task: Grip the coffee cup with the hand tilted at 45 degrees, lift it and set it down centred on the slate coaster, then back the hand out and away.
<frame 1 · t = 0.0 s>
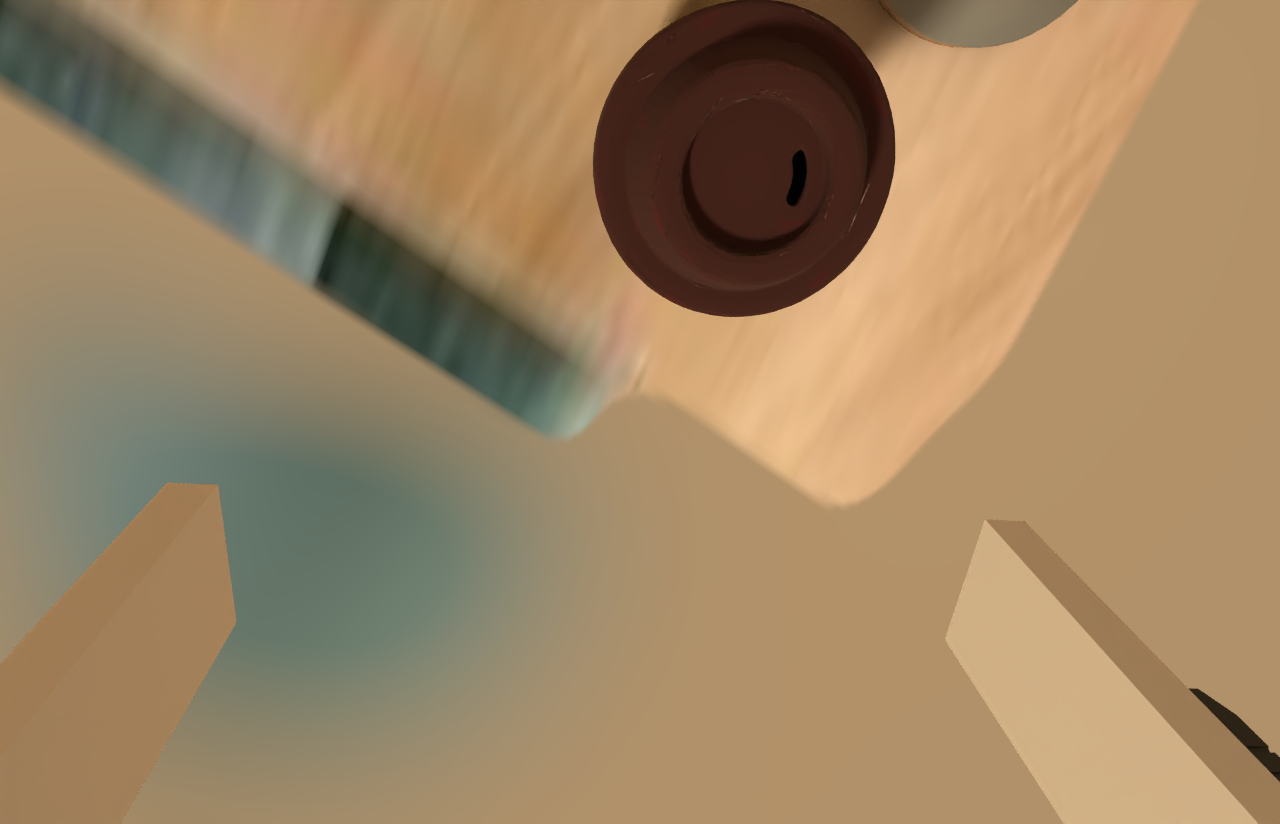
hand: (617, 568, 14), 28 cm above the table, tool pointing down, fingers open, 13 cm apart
coffee cup: (687, 132, 38), on the table
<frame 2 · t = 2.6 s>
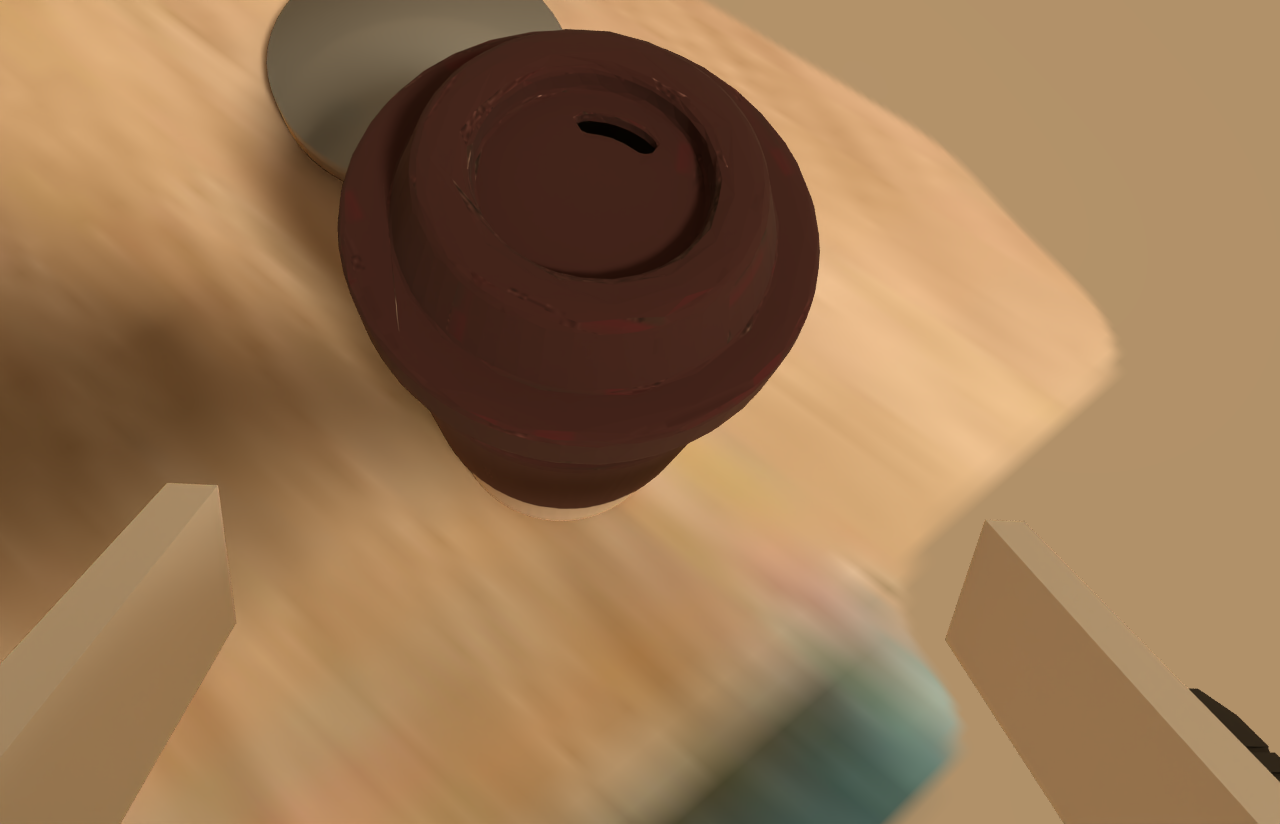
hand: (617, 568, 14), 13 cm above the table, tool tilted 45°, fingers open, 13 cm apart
coffee cup: (560, 427, 29), on the table
slate coaster: (427, 80, 33), on the table
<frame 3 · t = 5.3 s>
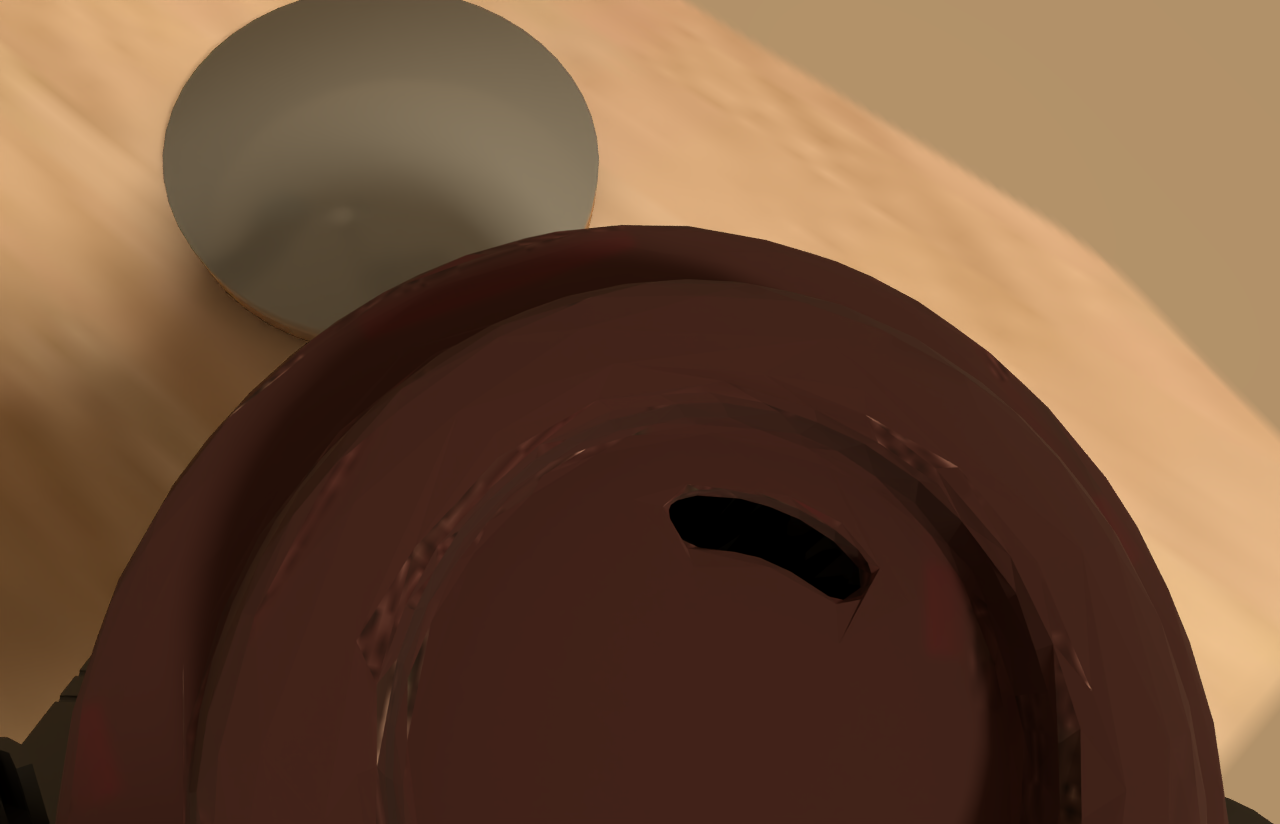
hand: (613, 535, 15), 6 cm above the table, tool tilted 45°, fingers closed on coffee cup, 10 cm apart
coffee cup: (584, 708, 19), on the table, touching gripper
slate coaster: (396, 172, 24), on the table
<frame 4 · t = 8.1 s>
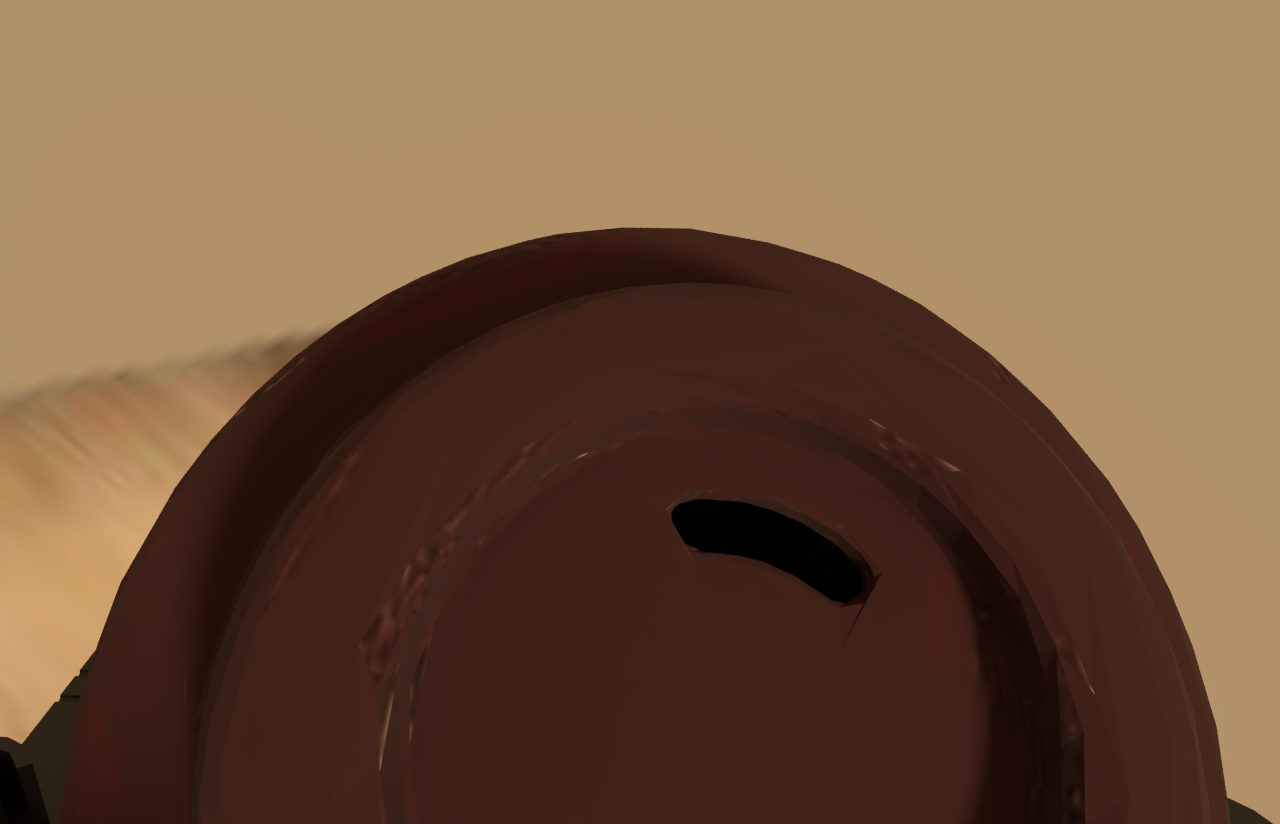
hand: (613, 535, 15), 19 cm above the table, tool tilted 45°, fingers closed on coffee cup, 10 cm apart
coffee cup: (585, 709, 19), point 13 cm above the table, touching gripper
when the fingers open (9 cm above the table, at t = 11.4 s): coffee cup drops 1 cm, resting on slate coaster.
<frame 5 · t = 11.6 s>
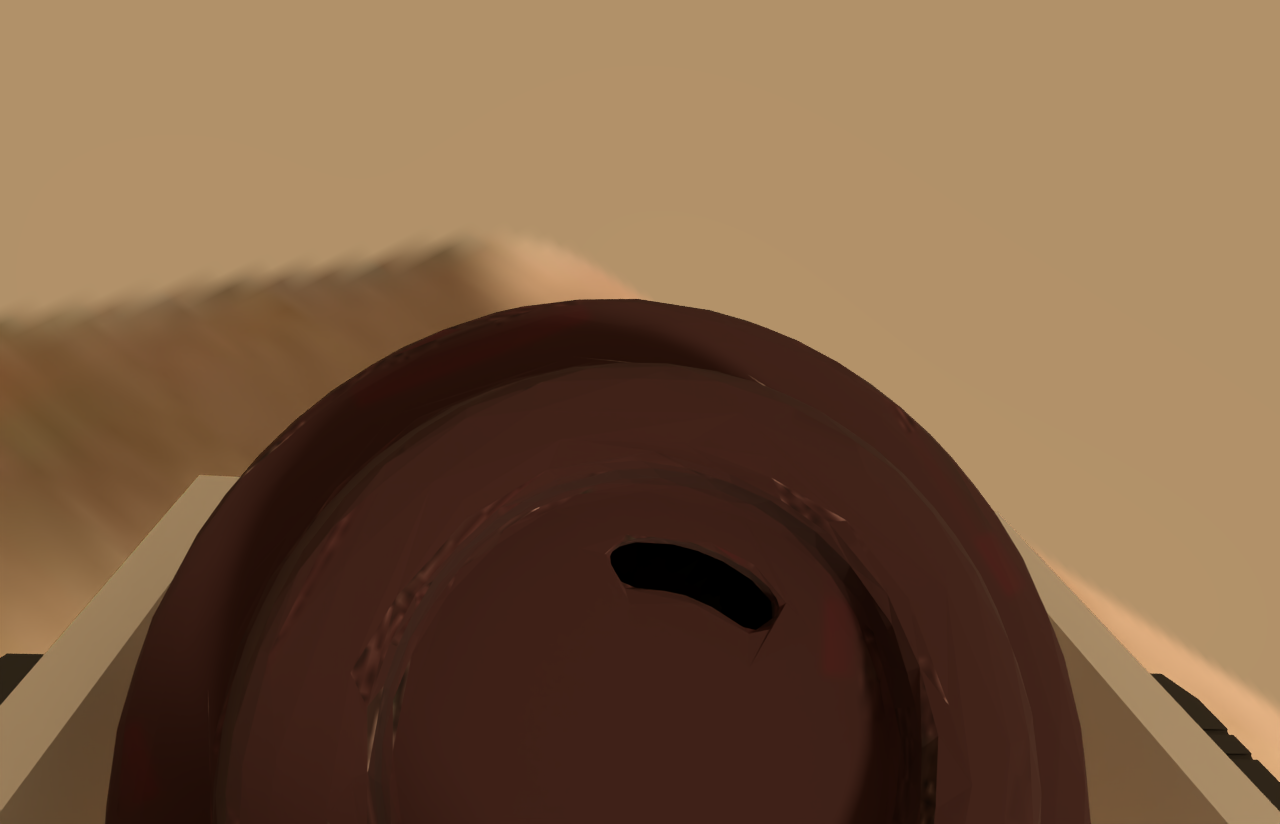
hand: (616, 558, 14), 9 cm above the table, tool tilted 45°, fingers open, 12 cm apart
coffee cup: (569, 712, 21), point 1 cm above the table, touching slate coaster
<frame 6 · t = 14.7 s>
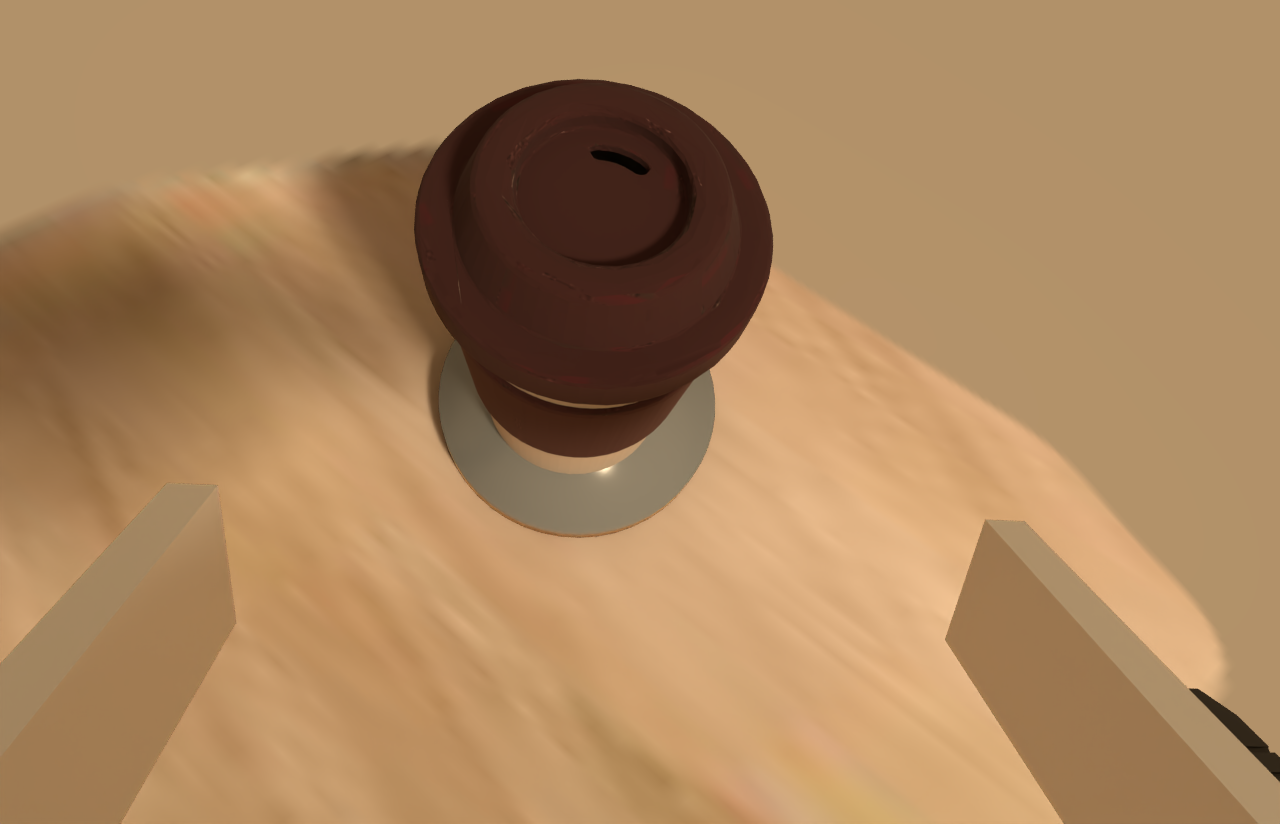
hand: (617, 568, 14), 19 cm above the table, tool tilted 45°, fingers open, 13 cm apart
coffee cup: (573, 398, 34), point 1 cm above the table, touching slate coaster
slate coaster: (578, 405, 35), on the table
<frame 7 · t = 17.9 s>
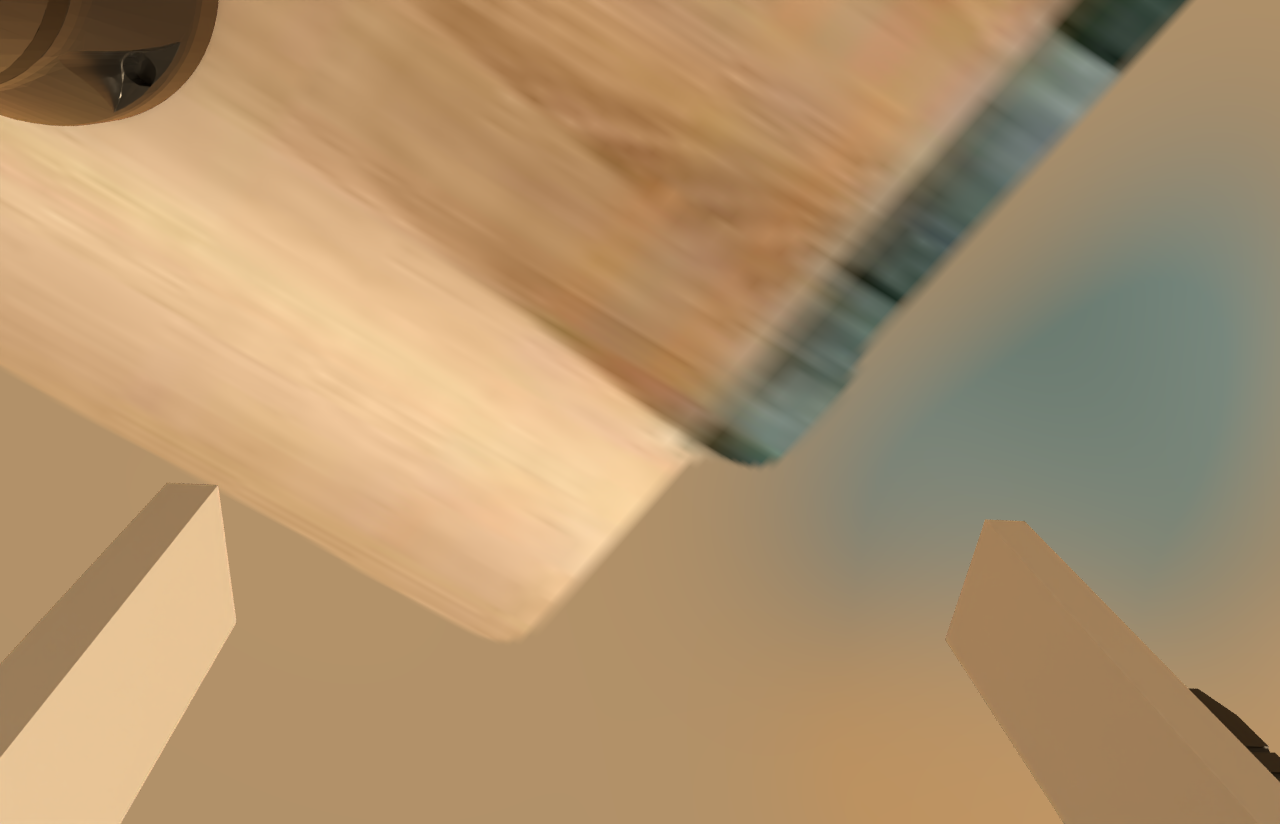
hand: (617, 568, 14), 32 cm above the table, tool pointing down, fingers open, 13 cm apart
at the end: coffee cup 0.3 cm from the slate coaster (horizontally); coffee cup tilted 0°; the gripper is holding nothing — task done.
